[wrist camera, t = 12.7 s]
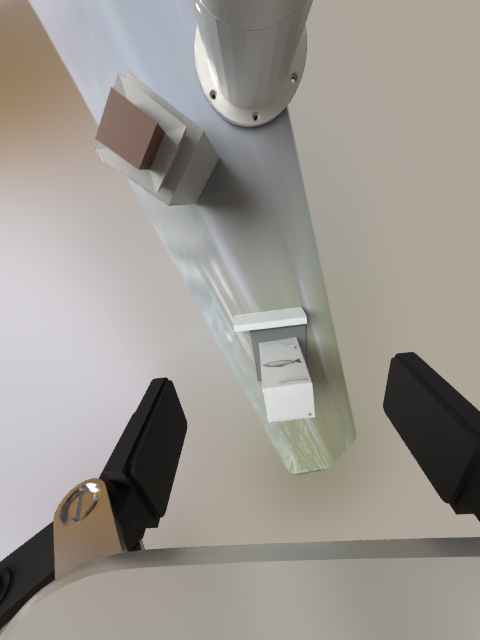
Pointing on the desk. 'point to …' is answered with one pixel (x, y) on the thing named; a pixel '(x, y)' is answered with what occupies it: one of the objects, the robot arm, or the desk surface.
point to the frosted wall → (269, 319)
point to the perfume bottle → (154, 143)
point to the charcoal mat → (277, 334)
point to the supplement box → (285, 381)
